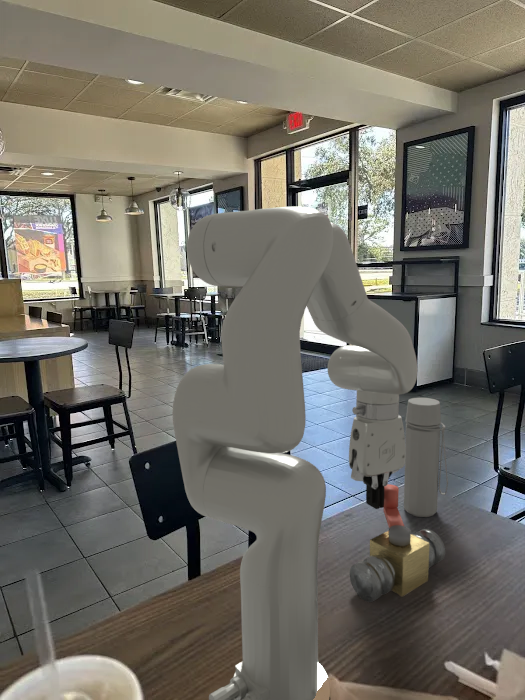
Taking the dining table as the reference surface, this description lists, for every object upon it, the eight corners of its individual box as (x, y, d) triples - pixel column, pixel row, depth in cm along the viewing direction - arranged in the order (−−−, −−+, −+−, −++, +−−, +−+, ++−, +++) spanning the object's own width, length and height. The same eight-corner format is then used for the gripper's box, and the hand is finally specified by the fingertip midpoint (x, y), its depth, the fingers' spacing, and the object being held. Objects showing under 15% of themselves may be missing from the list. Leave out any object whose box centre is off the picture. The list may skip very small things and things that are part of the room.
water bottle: (399, 515, 110) (401, 403, 106) (407, 500, 117) (409, 395, 113) (443, 524, 106) (448, 408, 102) (449, 508, 113) (453, 399, 109)
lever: (412, 546, 85) (413, 518, 84) (390, 545, 85) (391, 517, 84) (398, 509, 98) (398, 484, 97) (379, 508, 98) (379, 484, 97)
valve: (379, 610, 80) (380, 569, 79) (347, 589, 85) (347, 550, 84) (446, 569, 90) (448, 532, 89) (414, 552, 96) (415, 517, 95)
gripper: (358, 420, 85) (356, 523, 88) (422, 409, 92) (419, 504, 95) (331, 410, 92) (330, 506, 94) (393, 400, 99) (391, 490, 101)
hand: (374, 505), depth 95 cm, fingers closed
